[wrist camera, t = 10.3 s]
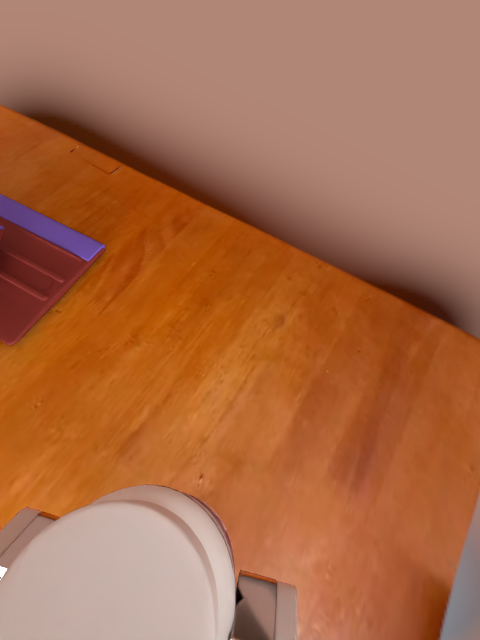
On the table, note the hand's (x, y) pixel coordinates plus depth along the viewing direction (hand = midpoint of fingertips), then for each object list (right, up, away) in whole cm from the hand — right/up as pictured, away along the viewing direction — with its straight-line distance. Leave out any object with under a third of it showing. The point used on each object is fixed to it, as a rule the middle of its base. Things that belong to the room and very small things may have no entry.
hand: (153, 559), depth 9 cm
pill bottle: (0, -3, +4) cm, 5 cm away
